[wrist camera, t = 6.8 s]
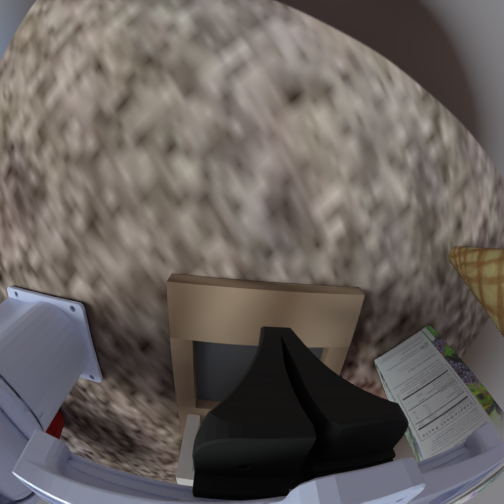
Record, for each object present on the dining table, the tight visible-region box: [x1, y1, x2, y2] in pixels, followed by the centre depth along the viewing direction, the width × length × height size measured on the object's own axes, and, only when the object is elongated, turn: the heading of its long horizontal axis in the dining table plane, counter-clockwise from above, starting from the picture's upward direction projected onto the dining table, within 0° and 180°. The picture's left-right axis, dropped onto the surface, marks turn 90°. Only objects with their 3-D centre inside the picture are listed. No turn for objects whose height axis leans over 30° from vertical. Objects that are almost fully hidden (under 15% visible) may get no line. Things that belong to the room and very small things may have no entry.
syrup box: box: [374, 325, 504, 504], centre depth 12 cm, size 6×6×14 cm
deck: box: [167, 274, 365, 438], centre depth 20 cm, size 12×27×1 cm, turn 175°
